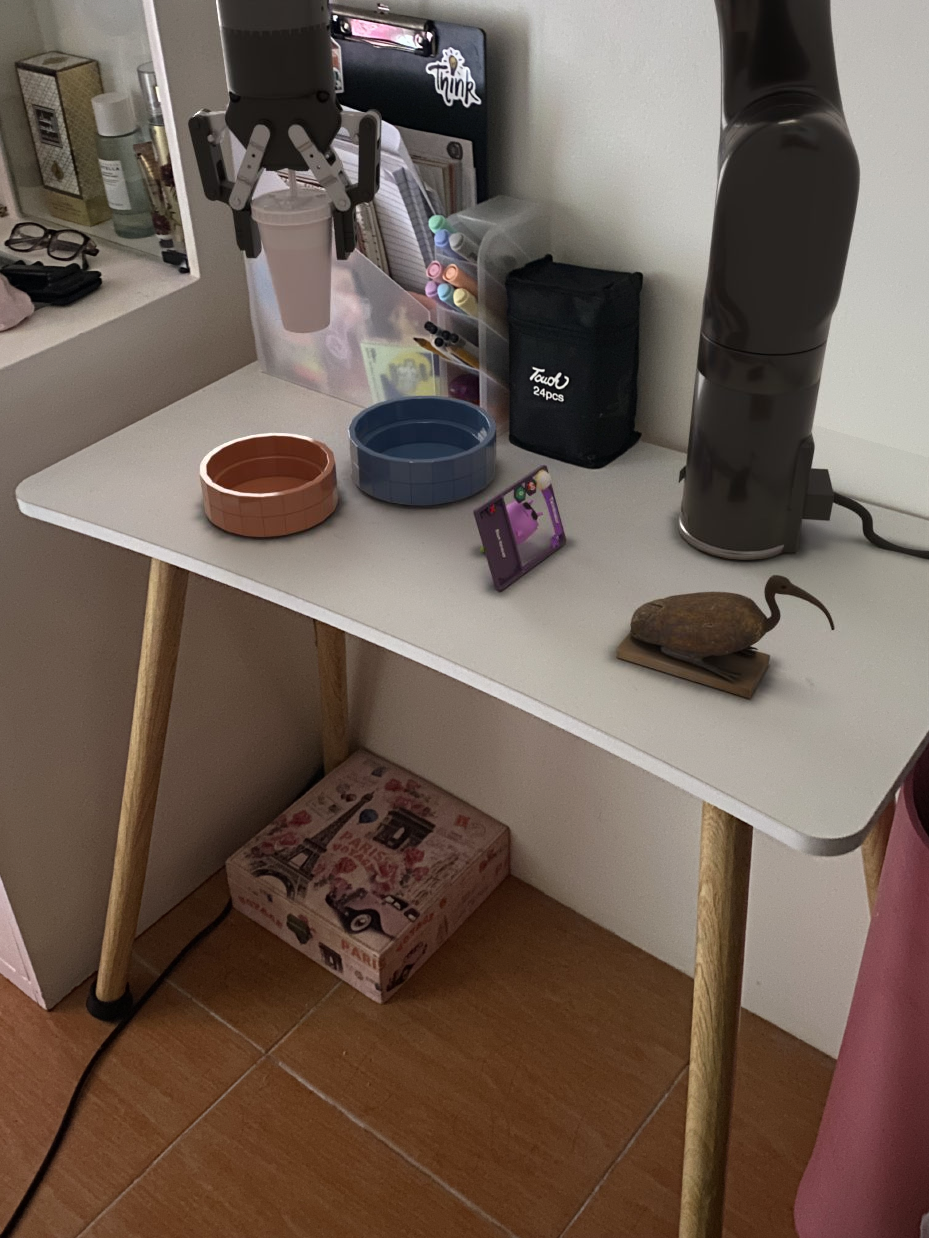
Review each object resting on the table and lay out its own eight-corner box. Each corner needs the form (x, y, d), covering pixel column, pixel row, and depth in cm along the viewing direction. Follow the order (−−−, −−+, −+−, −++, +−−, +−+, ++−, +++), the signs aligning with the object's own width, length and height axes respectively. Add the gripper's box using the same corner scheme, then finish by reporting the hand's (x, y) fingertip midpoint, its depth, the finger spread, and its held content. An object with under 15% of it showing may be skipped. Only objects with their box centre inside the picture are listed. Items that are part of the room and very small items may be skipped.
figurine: (829, 681, 84) (851, 576, 79) (810, 719, 81) (832, 611, 76) (639, 625, 90) (648, 523, 84) (615, 658, 86) (622, 554, 81)
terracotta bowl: (349, 476, 108) (346, 436, 106) (321, 543, 99) (318, 500, 97) (227, 470, 110) (221, 429, 107) (188, 535, 100) (181, 492, 98)
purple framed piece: (483, 510, 90) (553, 464, 96) (432, 510, 94) (503, 465, 99) (507, 591, 93) (574, 542, 98) (457, 588, 96) (524, 540, 102)
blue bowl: (502, 443, 113) (503, 398, 111) (486, 513, 103) (487, 466, 100) (366, 436, 115) (364, 392, 112) (337, 505, 104) (334, 458, 102)
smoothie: (353, 309, 99) (337, 127, 91) (339, 340, 93) (321, 150, 85) (275, 308, 99) (252, 128, 91) (257, 339, 94) (231, 151, 86)
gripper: (154, 26, 81) (193, 272, 91) (367, 25, 80) (383, 275, 89) (188, 7, 87) (221, 239, 97) (386, 5, 86) (400, 241, 95)
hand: (299, 255), depth 93 cm, fingers closed on smoothie, 6 cm apart
